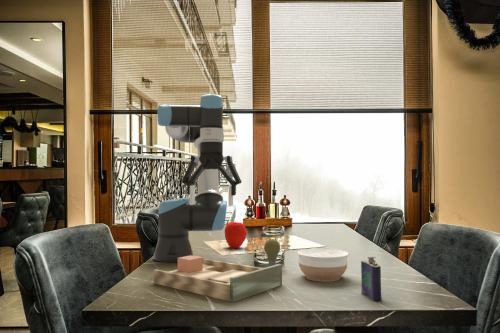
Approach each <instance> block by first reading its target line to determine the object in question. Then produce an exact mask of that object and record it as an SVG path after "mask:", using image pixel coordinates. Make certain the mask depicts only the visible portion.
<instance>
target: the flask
mask: <svg viewBox="0 0 500 333" xmlns="http://www.w3.org/2000/svg"><path fill="white" fill-rule="evenodd" d="M367 259H368V260H366V259H365V260H360V273H361V282H360V283H361V285H360V286H361V290H360V291H361V295H364V296H365V297H366V296H367V297H366V298H368V299H369V298H370V300H371V302H375V303H380V302H383V301H382V276H381V273H382V270H381V269H382V267H381V265H379V264H378V263H377V262H376V260H375V259H376V256H367Z"/></svg>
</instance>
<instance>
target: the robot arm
mask: <svg viewBox="0 0 500 333" xmlns="http://www.w3.org/2000/svg"><path fill="white" fill-rule="evenodd" d="M199 100H200V102H199V103H200V104H199V105H196V104H195V105H194V104H193V105H190V104H186V105H182V104H168V103H167V104H160V105H158V106H157V113H156V114H157V124H158V126H160V127H165V128H164V129H165V132H166V134H167V136H169V137H170V138H171V139H174V140H175V141H177V142H180V143H185V144H187V143H189V144H193V145H194V148H196V149H197V155H192V156H190V162H189V165H188V166H187V167H188V168H187V169H186V171H185V174H184V175H183V178H182V180H181V183H182V184H185V185H186V186H187V189H186V190H187V191H186V194H187V196H189V198H188V197H181V198H179V197H178V198H173V199H168V200H163V201H160V203H158V204H159V205H158V213H157V215H158V231H157V232H158V236H157V237H158V238H157V239H158V240H157V242H156V245H155V249H154V250H155V251H154V252H153V260H154V261H156V262H162V263H178V258H180V257H185V256H190V255H191V256H194V251H193V250H192V246H191V242H190V238H189V236H190V235H189V232H216V231H222V230H224V229H225V227H226V217H227V210H228V207H232V206H234V197H235V196H236V194H237V185H239V184H241V183H242V179H241V177H240V175H239V172H238V171H237V169H236V166H235V164H234V163H233V156H232V155H227V156H224V155H223V153H224V150H223V148H224V146H223V145H224V144H223V142H224V138H225V137H224V135H225V134H224V127H223V120H224V118H223V117H224V113H223V111H224V103H223V102H224V101H223V96H221V95H219V94H209V93H208V94H204V95H203V94H202V95H201V96H200V99H199ZM223 162H225V163H226V164H227V167H228V168H229V170H230V173H231V175H232V176H231V175H230V174H229V171H227V169H226V168H225V167H224V165H223ZM196 165H197V169H196V170H195V168H196ZM194 170H195V172H194ZM193 172H194V173H193ZM219 172H220V174H222V176H223V177H224V178H225V180H226V181H227V182H228V183H229V184H230V185H228V201H227V200H224V197H223V195H222V194H220V188H219V187H220V185H219V183H220V182H219V180H220V179H219ZM196 180H197V194H196V185H194V183H195V182H196Z"/></svg>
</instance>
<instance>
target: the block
mask: <svg viewBox="0 0 500 333" xmlns="http://www.w3.org/2000/svg"><path fill="white" fill-rule="evenodd" d="M203 259H204V257H203V256H202V257H201V256H197V255H193V256H191V255H190V256H185V257H180V258H178V262H177V270H178V271H181V272H186V273H193V272H197V271H201V270H203Z"/></svg>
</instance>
